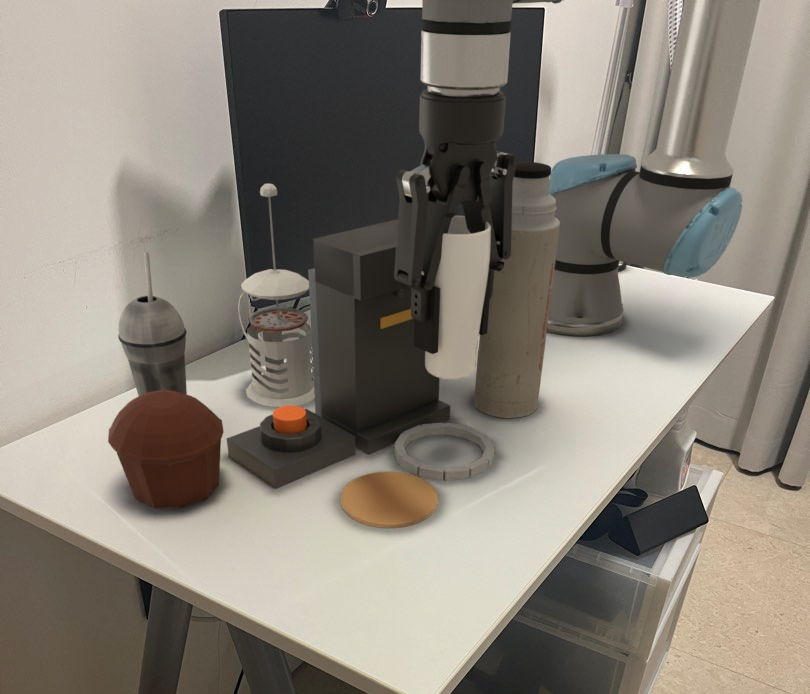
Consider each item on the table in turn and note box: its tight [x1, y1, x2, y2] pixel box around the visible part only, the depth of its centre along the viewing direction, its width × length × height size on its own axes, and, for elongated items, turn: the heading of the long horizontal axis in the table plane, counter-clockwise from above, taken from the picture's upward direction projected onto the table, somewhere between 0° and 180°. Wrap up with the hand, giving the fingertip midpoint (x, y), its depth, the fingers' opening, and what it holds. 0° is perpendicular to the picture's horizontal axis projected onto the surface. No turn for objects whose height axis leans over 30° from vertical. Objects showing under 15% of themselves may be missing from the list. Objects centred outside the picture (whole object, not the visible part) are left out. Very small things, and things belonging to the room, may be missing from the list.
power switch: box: [226, 408, 357, 489], centre depth 92 cm, size 11×9×4 cm
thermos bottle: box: [473, 161, 560, 419], centre depth 96 cm, size 8×8×28 cm
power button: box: [272, 405, 307, 434], centre depth 90 cm, size 4×4×2 cm
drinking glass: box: [422, 215, 491, 380], centre depth 83 cm, size 7×7×15 cm
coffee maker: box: [307, 218, 496, 481], centre depth 90 cm, size 13×22×22 cm, turn 43°
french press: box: [237, 183, 315, 408], centre depth 99 cm, size 10×12×25 cm
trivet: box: [340, 471, 439, 529], centre depth 85 cm, size 10×10×1 cm
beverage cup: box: [117, 252, 188, 397], centre depth 92 cm, size 7×7×20 cm
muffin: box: [107, 390, 224, 509], centre depth 84 cm, size 12×11×10 cm
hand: (451, 339), depth 86 cm, fingers closed on drinking glass, 7 cm apart
